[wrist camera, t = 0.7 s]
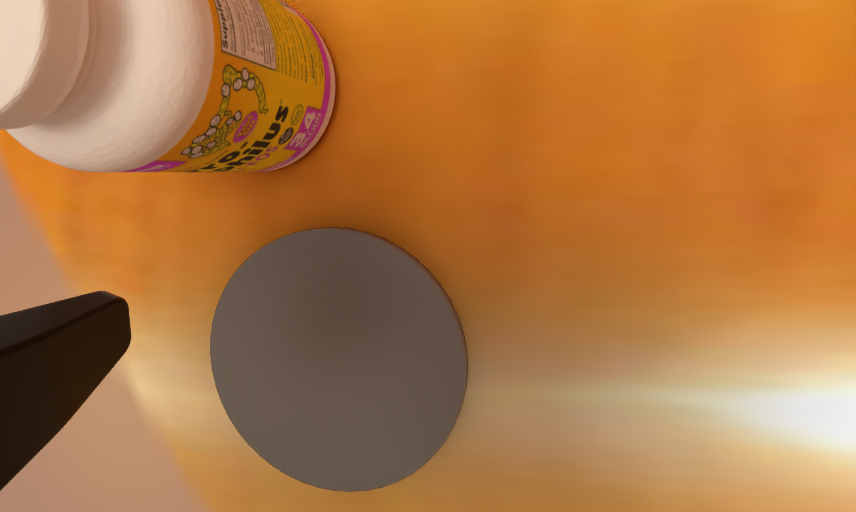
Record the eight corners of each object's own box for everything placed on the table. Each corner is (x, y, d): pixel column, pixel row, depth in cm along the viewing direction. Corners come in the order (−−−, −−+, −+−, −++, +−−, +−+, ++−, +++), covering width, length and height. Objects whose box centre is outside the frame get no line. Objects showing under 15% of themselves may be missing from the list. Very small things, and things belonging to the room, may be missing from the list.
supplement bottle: (226, 194, 25) (-109, 219, 13) (169, 43, 25) (-232, -82, 12) (366, 137, 23) (134, 101, 11) (308, -27, 23) (0, -255, 11)
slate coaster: (364, 531, 26) (357, 542, 25) (178, 367, 27) (166, 373, 26) (524, 347, 23) (523, 353, 22) (310, 172, 24) (301, 172, 23)
